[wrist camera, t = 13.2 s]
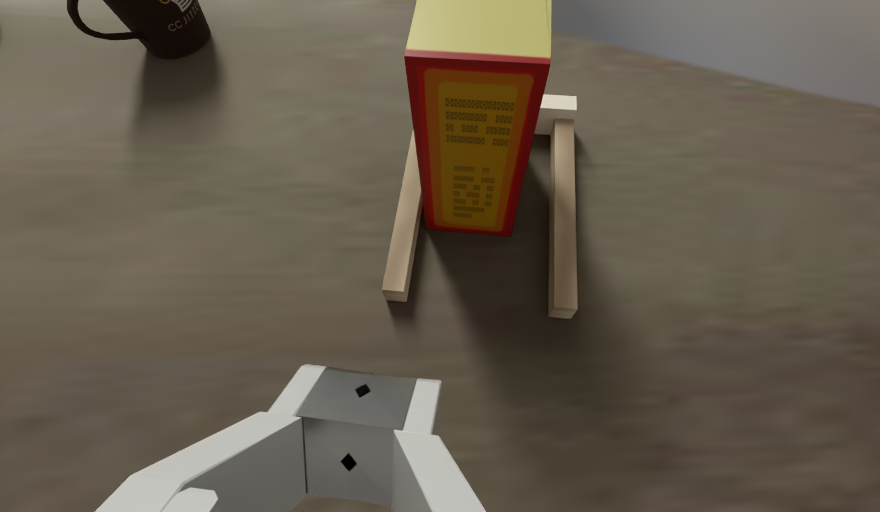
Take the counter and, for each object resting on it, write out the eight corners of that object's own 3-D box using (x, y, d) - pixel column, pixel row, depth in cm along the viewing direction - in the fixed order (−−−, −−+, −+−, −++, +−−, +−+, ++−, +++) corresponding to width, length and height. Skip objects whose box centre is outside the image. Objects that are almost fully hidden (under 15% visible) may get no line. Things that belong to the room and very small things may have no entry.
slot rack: (386, 299, 31) (379, 283, 28) (421, 113, 39) (418, 86, 36) (570, 319, 30) (581, 304, 27) (567, 123, 38) (576, 96, 35)
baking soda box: (440, 135, 38) (431, -71, 23) (515, 140, 37) (553, -67, 23) (426, 229, 33) (403, 48, 19) (510, 236, 33) (552, 57, 19)
